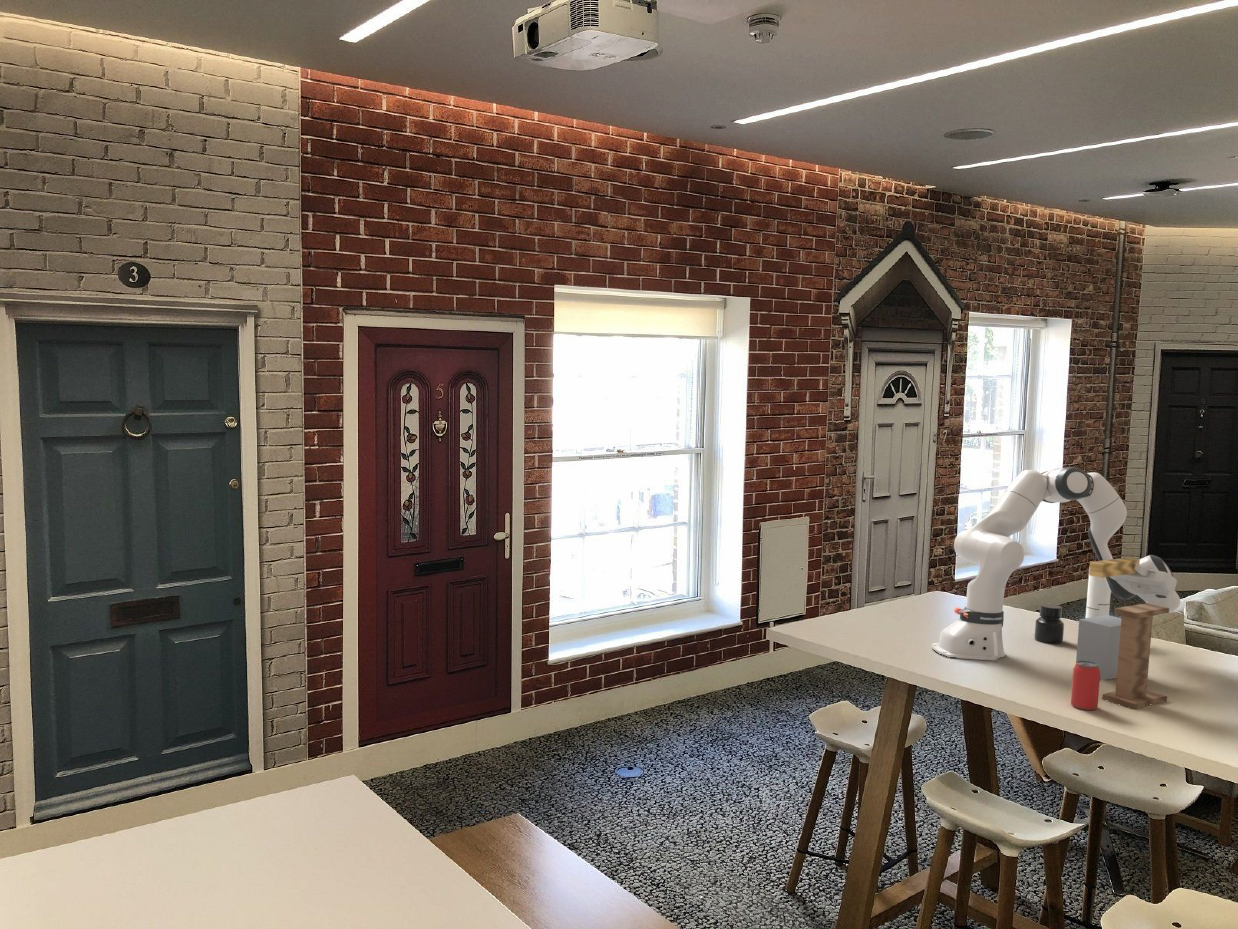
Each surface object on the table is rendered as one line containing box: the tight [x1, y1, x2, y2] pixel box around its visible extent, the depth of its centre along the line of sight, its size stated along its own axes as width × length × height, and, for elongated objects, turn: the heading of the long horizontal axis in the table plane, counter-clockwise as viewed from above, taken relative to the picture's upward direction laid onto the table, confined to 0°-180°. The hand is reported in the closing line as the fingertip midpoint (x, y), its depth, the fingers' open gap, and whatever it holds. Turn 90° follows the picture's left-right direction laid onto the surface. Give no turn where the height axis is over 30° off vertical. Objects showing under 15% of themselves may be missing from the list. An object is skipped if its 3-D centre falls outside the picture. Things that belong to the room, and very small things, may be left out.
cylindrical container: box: [1085, 566, 1112, 618], centre depth 338 cm, size 7×7×25 cm
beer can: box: [1070, 661, 1101, 711], centre depth 264 cm, size 7×7×12 cm
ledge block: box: [1075, 614, 1122, 681], centre depth 297 cm, size 14×10×16 cm
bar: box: [1088, 557, 1140, 578], centre depth 295 cm, size 19×4×4 cm, turn 121°
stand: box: [1101, 602, 1169, 710], centre depth 270 cm, size 16×9×26 cm, turn 121°
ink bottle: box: [1034, 603, 1065, 644], centre depth 333 cm, size 10×9×12 cm
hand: (1125, 564), depth 298 cm, fingers closed on bar, 4 cm apart
